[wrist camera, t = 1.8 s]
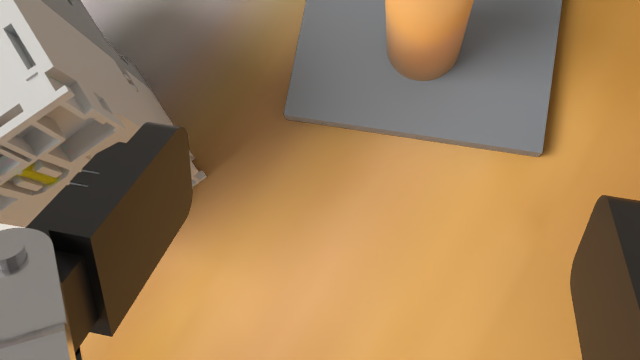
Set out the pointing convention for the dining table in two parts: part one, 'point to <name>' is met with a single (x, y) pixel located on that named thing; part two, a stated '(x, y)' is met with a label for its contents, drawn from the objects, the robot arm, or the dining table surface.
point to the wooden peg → (425, 35)
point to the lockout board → (434, 95)
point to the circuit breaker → (61, 102)
